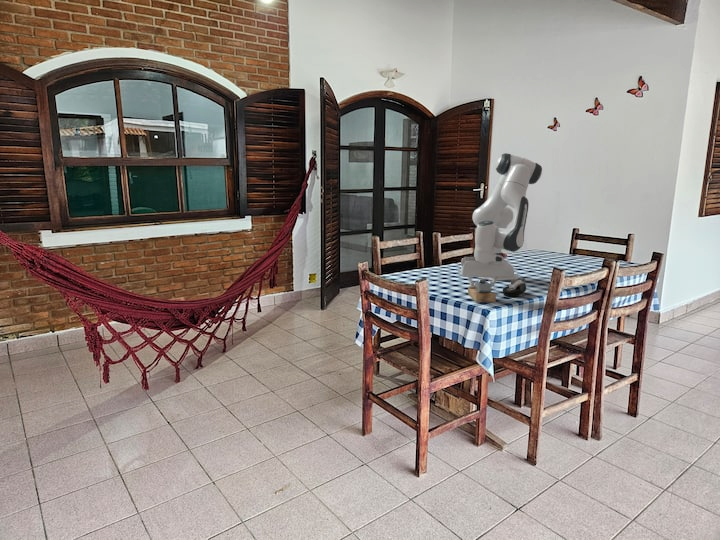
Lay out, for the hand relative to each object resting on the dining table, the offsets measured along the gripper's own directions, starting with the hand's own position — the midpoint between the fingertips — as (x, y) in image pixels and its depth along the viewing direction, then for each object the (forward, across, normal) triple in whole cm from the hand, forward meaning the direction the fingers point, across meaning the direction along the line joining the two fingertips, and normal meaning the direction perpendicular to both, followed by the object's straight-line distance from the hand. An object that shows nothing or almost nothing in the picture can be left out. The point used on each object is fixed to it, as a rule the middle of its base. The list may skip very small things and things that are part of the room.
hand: (482, 286), depth 230 cm
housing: (+3, 0, 0) cm, 3 cm away
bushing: (+6, +6, +11) cm, 14 cm away
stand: (+6, 0, 0) cm, 6 cm away
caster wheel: (+6, +18, +5) cm, 19 cm away
